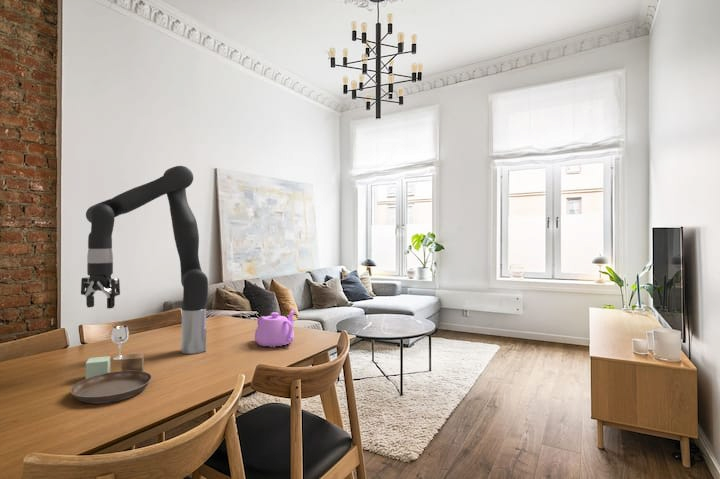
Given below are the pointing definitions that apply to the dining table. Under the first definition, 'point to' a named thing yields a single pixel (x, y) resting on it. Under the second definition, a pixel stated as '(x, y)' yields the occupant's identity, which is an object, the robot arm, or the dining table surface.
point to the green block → (97, 366)
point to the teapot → (275, 330)
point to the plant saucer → (111, 386)
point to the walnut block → (133, 362)
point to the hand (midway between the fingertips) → (100, 307)
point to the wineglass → (119, 337)
